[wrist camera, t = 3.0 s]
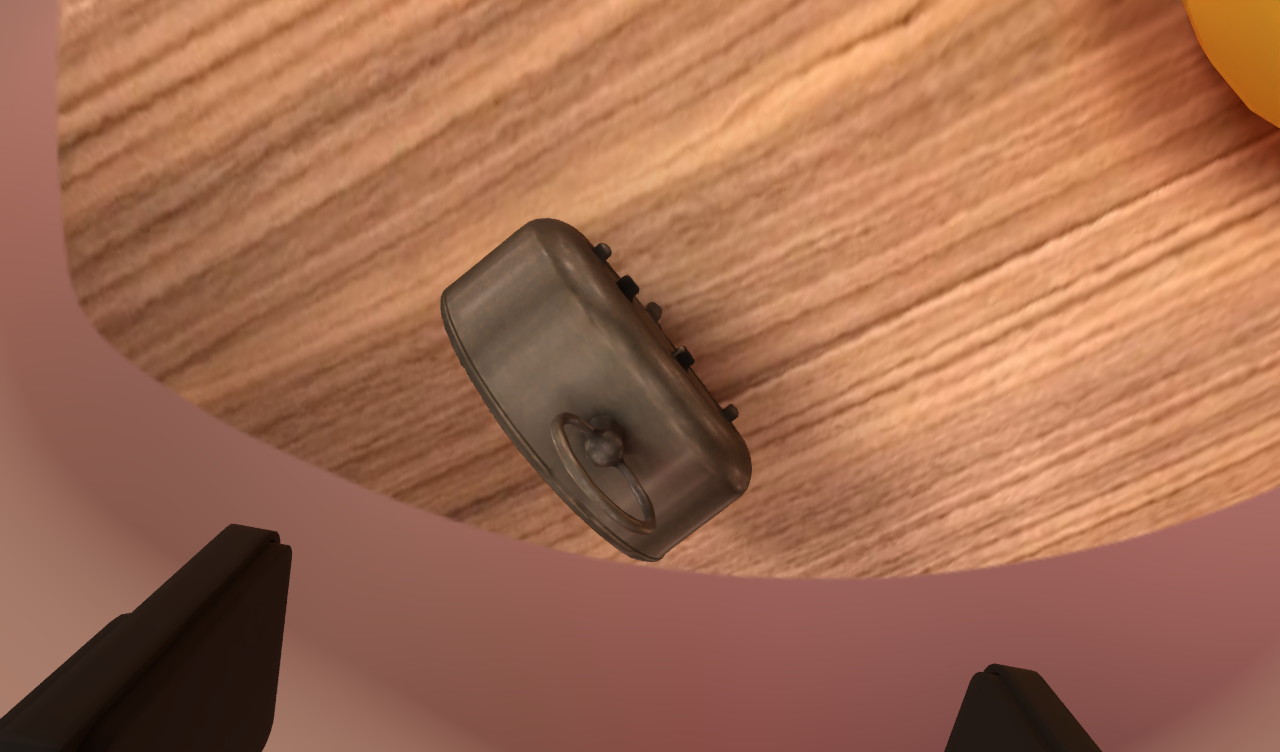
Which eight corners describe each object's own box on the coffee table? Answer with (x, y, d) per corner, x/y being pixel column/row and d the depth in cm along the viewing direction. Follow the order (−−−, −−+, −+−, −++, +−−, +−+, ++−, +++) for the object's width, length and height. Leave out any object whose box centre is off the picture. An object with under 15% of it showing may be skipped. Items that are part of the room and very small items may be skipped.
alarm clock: (471, 270, 31) (319, 382, 15) (579, 182, 30) (536, 205, 14) (643, 475, 33) (665, 753, 18) (746, 398, 33) (866, 618, 17)
